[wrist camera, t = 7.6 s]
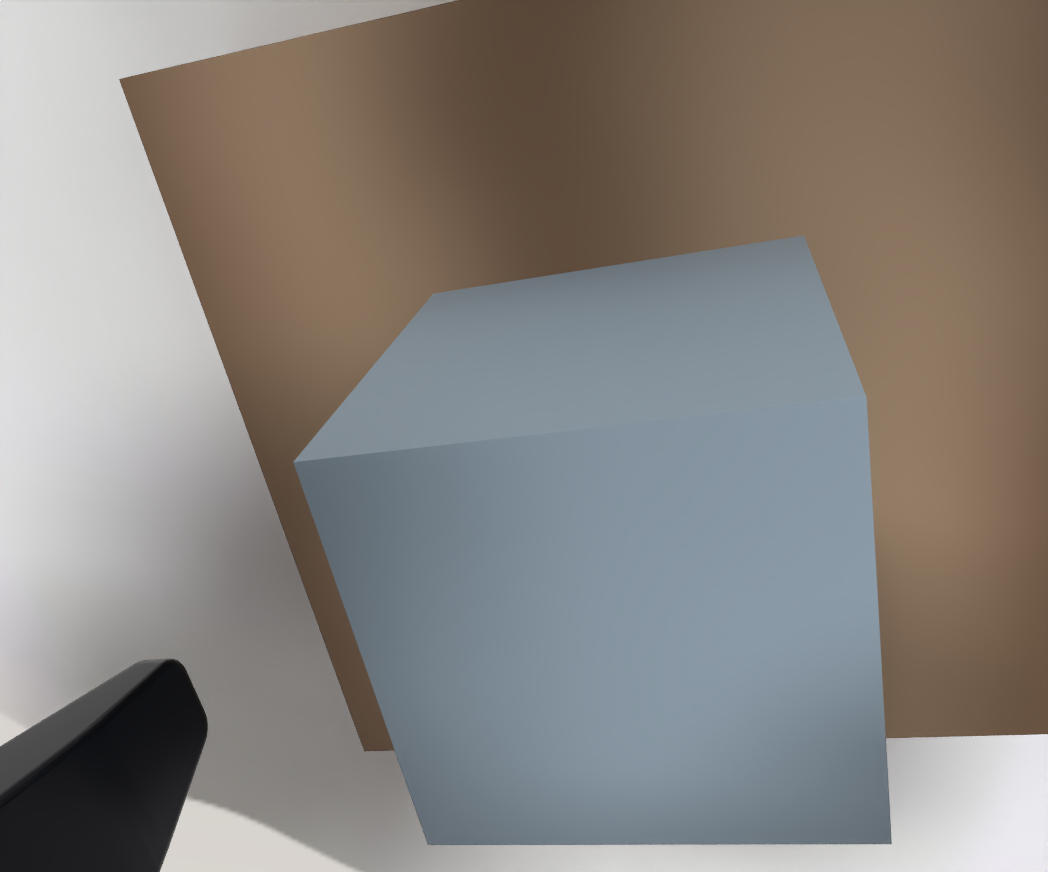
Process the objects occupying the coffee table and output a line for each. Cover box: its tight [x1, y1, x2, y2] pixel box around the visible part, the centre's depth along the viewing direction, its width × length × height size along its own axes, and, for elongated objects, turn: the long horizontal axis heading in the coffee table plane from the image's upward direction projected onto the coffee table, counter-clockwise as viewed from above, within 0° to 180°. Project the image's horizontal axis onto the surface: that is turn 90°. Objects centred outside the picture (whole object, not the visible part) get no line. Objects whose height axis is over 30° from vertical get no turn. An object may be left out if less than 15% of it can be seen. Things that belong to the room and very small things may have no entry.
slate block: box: [293, 235, 892, 845], centre depth 11 cm, size 5×5×5 cm
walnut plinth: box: [119, 0, 1048, 751], centre depth 15 cm, size 12×12×3 cm
